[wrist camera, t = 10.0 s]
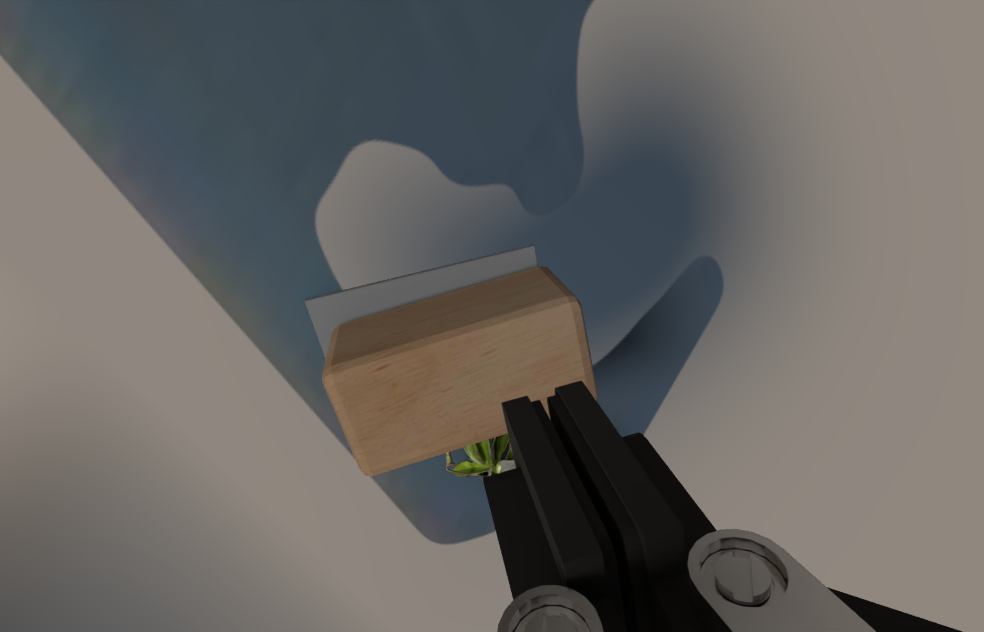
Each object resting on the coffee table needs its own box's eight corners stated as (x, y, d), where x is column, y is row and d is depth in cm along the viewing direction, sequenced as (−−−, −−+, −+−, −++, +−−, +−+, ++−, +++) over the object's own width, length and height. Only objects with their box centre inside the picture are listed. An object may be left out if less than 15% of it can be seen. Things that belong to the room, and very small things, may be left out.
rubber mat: (305, 299, 46) (304, 301, 45) (532, 244, 48) (534, 245, 47) (346, 414, 50) (346, 416, 50) (551, 360, 52) (553, 362, 52)
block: (583, 296, 39) (315, 376, 37) (603, 408, 43) (362, 484, 41) (545, 260, 48) (329, 323, 46) (565, 355, 52) (367, 416, 50)
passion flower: (526, 407, 60) (587, 500, 54) (442, 457, 58) (496, 559, 52) (520, 363, 51) (594, 469, 45) (420, 420, 49) (483, 540, 43)
